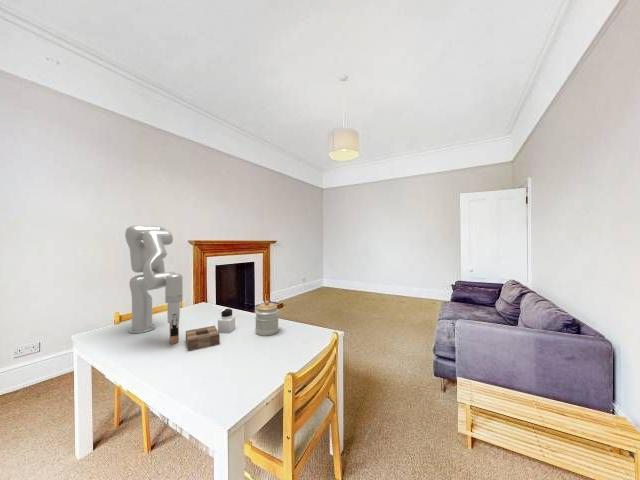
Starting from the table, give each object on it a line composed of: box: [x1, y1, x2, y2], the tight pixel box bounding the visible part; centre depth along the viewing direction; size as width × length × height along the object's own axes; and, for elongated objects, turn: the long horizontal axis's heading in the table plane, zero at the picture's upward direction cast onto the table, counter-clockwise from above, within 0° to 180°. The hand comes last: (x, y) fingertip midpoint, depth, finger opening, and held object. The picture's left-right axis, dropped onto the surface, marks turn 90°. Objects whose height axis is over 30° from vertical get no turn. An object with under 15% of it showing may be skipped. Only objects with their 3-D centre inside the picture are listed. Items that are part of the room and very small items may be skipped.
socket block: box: [185, 325, 221, 352], centre depth 126 cm, size 14×14×5 cm
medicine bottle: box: [217, 308, 236, 334], centre depth 142 cm, size 7×7×12 cm
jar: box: [254, 300, 280, 337], centre depth 140 cm, size 13×13×18 cm
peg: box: [169, 320, 180, 345], centre depth 126 cm, size 4×4×12 cm
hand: (174, 333), depth 126 cm, fingers closed on peg, 4 cm apart
